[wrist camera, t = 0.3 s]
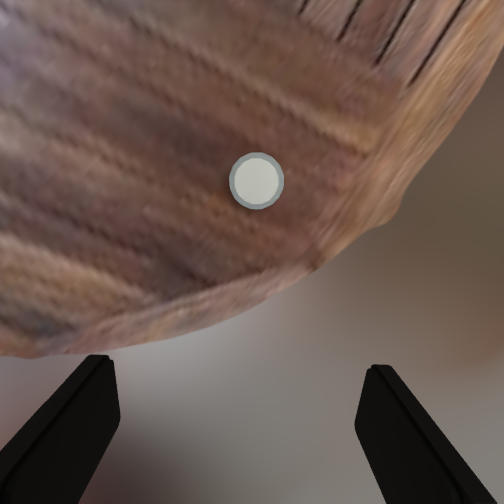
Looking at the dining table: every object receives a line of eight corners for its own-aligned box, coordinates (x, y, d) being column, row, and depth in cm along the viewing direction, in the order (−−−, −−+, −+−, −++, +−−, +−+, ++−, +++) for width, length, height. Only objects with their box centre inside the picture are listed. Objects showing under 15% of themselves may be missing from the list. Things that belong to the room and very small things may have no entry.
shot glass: (281, 198, 37) (288, 203, 31) (238, 208, 38) (236, 215, 31) (272, 152, 35) (278, 145, 29) (227, 163, 36) (222, 159, 29)
